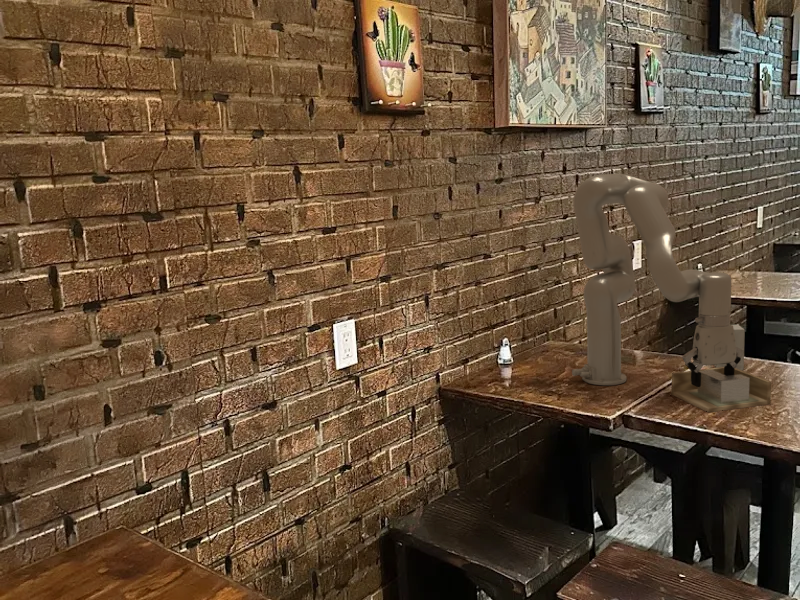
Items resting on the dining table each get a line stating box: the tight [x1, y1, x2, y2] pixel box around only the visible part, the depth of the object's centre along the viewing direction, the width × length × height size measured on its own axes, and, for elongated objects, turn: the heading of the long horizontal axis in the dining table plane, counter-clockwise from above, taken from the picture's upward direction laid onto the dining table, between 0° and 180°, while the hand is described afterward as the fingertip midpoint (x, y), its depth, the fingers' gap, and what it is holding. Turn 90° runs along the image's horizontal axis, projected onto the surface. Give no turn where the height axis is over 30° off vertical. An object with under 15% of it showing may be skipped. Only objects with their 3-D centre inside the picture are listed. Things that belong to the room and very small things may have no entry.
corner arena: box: [671, 367, 772, 413], centre depth 189 cm, size 18×16×6 cm
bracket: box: [698, 370, 750, 404], centre depth 187 cm, size 10×8×6 cm
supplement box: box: [713, 324, 746, 371], centre depth 216 cm, size 7×7×13 cm
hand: (712, 383), depth 188 cm, fingers open, 9 cm apart
